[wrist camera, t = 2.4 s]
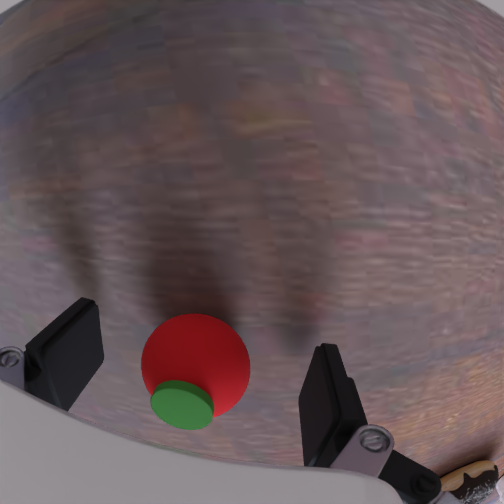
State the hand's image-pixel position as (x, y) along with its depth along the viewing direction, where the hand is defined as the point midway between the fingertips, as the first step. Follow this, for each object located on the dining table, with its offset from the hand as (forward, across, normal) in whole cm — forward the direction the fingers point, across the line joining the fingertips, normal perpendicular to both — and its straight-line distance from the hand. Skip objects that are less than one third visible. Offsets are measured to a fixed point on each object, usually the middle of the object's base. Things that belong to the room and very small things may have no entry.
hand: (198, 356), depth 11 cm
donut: (+1, -25, +18) cm, 31 cm away
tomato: (+1, 0, 0) cm, 1 cm away
